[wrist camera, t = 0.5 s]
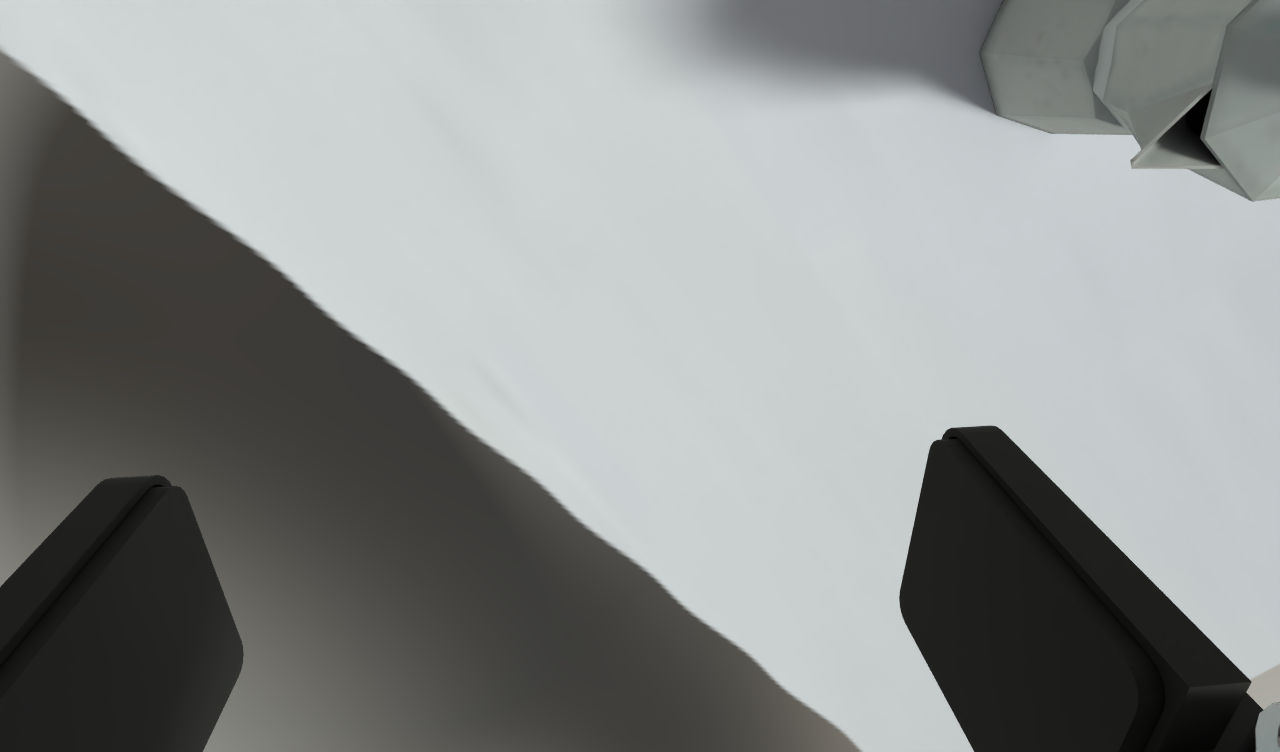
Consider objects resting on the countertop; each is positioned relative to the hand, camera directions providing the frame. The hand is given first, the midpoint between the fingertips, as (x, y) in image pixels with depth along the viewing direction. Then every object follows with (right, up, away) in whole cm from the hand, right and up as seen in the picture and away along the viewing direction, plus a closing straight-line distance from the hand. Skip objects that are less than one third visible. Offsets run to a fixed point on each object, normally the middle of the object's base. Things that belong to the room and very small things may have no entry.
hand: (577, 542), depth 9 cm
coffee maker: (+23, +19, +27) cm, 40 cm away
